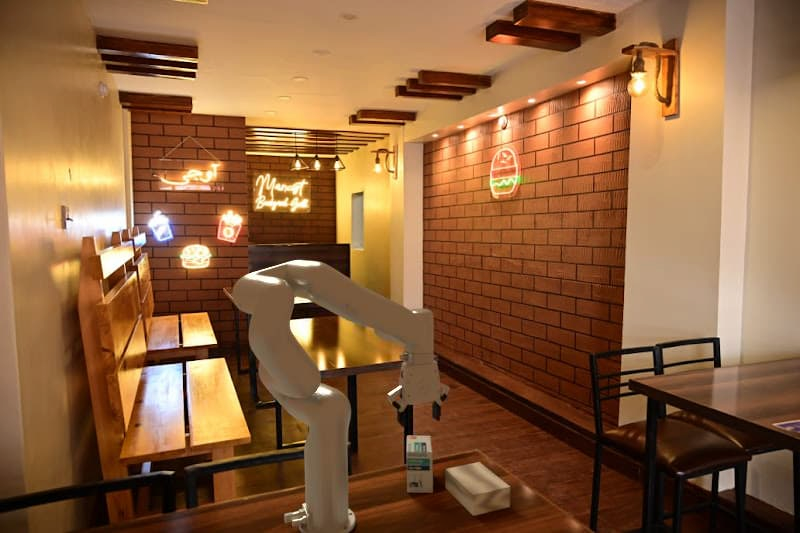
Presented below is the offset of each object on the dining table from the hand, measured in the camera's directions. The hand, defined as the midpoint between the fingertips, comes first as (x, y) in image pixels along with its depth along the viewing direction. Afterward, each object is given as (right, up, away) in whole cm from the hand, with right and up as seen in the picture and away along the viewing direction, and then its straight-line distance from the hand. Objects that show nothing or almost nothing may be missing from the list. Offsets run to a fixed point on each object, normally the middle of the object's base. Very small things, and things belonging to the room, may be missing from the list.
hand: (419, 422), depth 135 cm
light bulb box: (0, -17, +1) cm, 17 cm away
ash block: (+14, -17, -6) cm, 23 cm away
